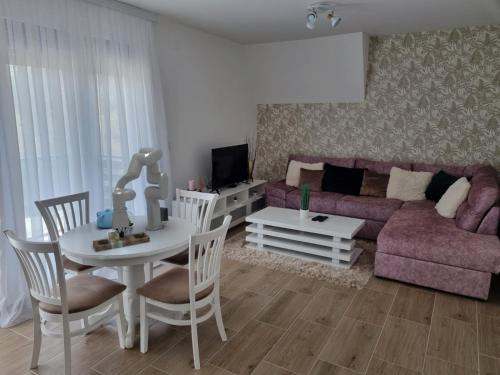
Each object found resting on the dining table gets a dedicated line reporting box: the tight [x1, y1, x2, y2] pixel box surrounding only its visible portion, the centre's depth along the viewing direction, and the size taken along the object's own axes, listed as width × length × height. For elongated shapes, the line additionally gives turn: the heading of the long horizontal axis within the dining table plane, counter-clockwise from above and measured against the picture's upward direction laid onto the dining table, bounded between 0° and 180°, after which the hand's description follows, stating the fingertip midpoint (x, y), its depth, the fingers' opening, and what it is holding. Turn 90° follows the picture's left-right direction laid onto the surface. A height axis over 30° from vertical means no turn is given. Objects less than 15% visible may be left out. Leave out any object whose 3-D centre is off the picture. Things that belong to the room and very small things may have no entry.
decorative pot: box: [96, 208, 113, 229], centre depth 268 cm, size 16×16×14 cm
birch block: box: [107, 230, 119, 243], centre depth 229 cm, size 5×6×5 cm
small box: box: [160, 206, 169, 222], centre depth 282 cm, size 11×6×10 cm, turn 71°
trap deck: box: [92, 231, 151, 252], centre depth 232 cm, size 33×13×3 cm, turn 122°
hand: (121, 237), depth 232 cm, fingers closed
